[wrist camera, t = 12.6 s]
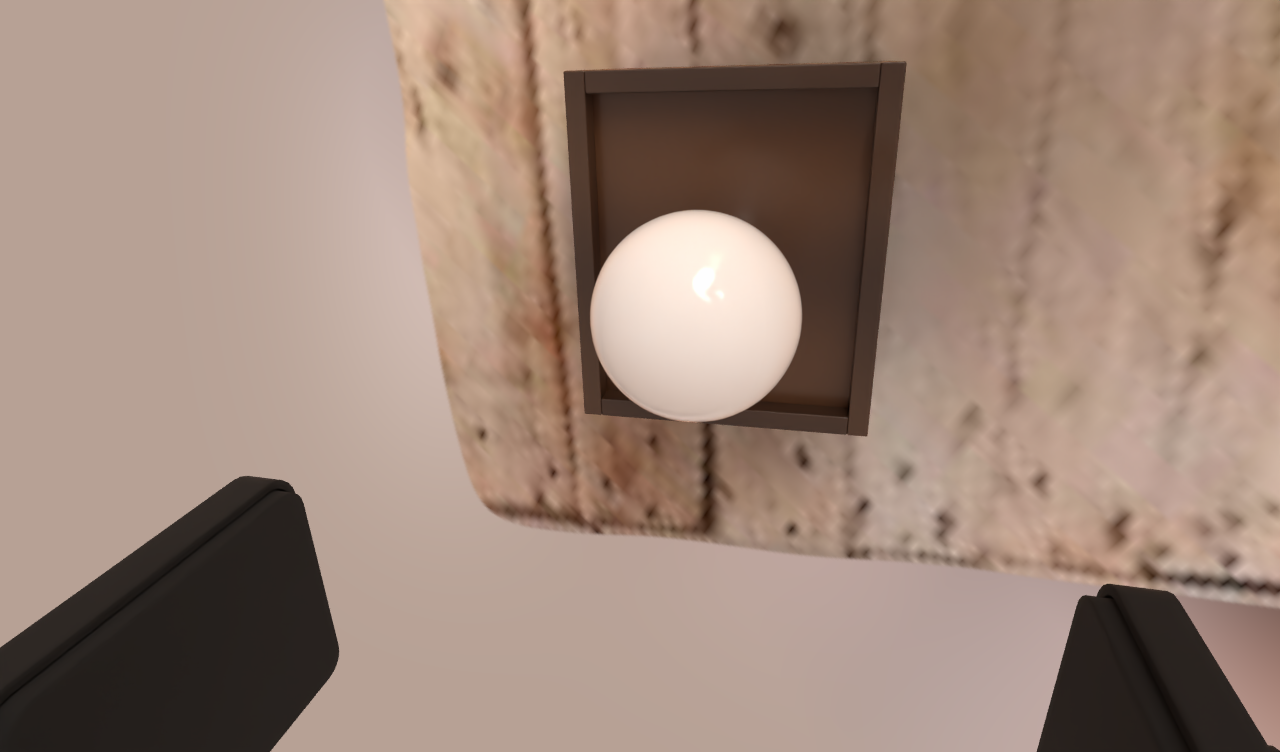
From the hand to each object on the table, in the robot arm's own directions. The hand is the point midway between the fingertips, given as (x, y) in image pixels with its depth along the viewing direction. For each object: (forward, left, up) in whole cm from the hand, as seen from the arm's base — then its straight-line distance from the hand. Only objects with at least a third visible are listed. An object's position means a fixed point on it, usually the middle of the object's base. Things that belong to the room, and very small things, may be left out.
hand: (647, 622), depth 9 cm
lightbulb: (+1, -2, -22) cm, 22 cm away
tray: (+1, -2, -28) cm, 28 cm away
